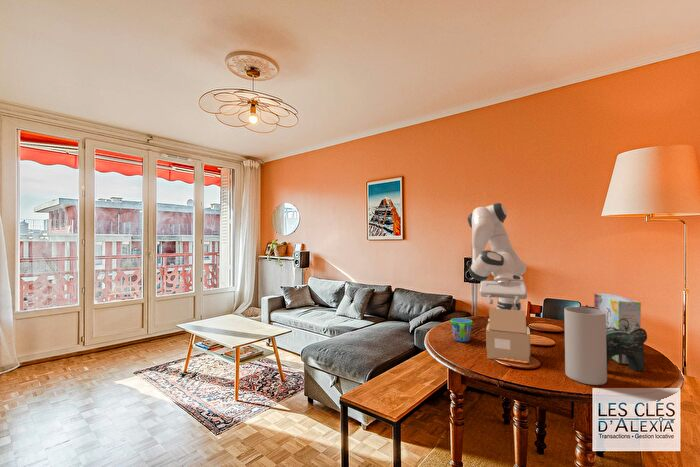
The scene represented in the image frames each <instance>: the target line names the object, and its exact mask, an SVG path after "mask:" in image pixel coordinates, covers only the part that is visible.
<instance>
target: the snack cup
mask: <svg viewBox="0 0 700 467" xmlns="http://www.w3.org/2000/svg"><path fill="white" fill-rule="evenodd" d="M473 323H474V322H473V320H472V319H469V318H464V317H463V318H462V317H455V318H451V319H450V324H451V329H452V334H453V339H454V341H456V342H459V343H460V342H461V343H466V342H469V341H470V340H471V333H472V326H473Z"/></svg>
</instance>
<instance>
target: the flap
mask: <svg viewBox="0 0 700 467" xmlns="http://www.w3.org/2000/svg"><path fill="white" fill-rule="evenodd" d="M488 309H489V311H488V312H489V313H488V314H489V318H488V319H489V321H488V323H489V329H491V330H500V331H510V332H519V333H526V326H527V320H526V319H527V318H526V316H527V315H526V312H527V311H526V310H521V311H519V310H507V309H496V308H494V307H492V308H491V307H489V308H488Z"/></svg>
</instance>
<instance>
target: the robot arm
mask: <svg viewBox="0 0 700 467" xmlns="http://www.w3.org/2000/svg"><path fill="white" fill-rule="evenodd" d="M507 216H508V214H507V209H506V207H505V206H504V204H503V203H500V202H497V203H493V204H489V205H487V206H478V207H475V209H473V210H472V212H471V213H469V214H468V216H467V223H468V226H469V227H470V228H471V233H472V234H471V264H470V266H469V268H468V273H469V275H470V276H471V278H472V279H474V280H476V281H478V282H479V281H480V287H479V295H480V296H481V297H483V298H487V299H488V301H489V305H494V298H498V301H497V304H496V308H495V309H507V310H519V311H522V310H521V306H522V304H521V302H520V300H526V299H527V298H528V290H527V285H526V283H525V280H524V277H523V276H522V275H524V274H525V273H526V271H527V264H526V262H524V261H523V260H522V259H521V258H520V257H519V256H518V254H517V253H516V251H515V250H514V248H513V245H512V243H511V241H510V237H509V236H508V233H507V231H506V228H505V226H504V225H503V224H504V223H505V222H504V221H505V220H506V219H507ZM488 243H489V247H490V250H486V249H485V248H486V246H487V244H488ZM490 274H491V275H492V276H493V279H488V278H489V277H490ZM487 321H488V322H489V318H488V319H487Z"/></svg>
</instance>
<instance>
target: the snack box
mask: <svg viewBox="0 0 700 467" xmlns="http://www.w3.org/2000/svg"><path fill="white" fill-rule="evenodd" d="M593 295H594V299H593V300H594V307H595V309H598V310H602V311H604V312H606V328H609V327H611V328H615V329H618V330H623V329H624V328H625V327H624V326H623V325H627V326H628V323H627V321H628V322H629V326H635V325H636V323H638V325H639V326H640V328H642V326H641V322H642V321H641V318H642V316H641V315H642V313H641V312H642V311H641V306H642V302H640V301H637V300H634V299H631V298H627V297H624V296H621V295H618V294H617V295H616V294H614V293H600V292H599V293H598V292H597V293H596V292H594V294H593ZM619 319H626V320H627V321H626V320H621V321H620V322H618V321H619ZM611 328H609V329H606V331H609V330H614V329H611ZM611 360H613V361H615V362H616V363H618V364H620V365H621V364H623V365H629V362H628V359H627V357H626V356H625V355H615V356H613V357H612V358H611Z"/></svg>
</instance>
